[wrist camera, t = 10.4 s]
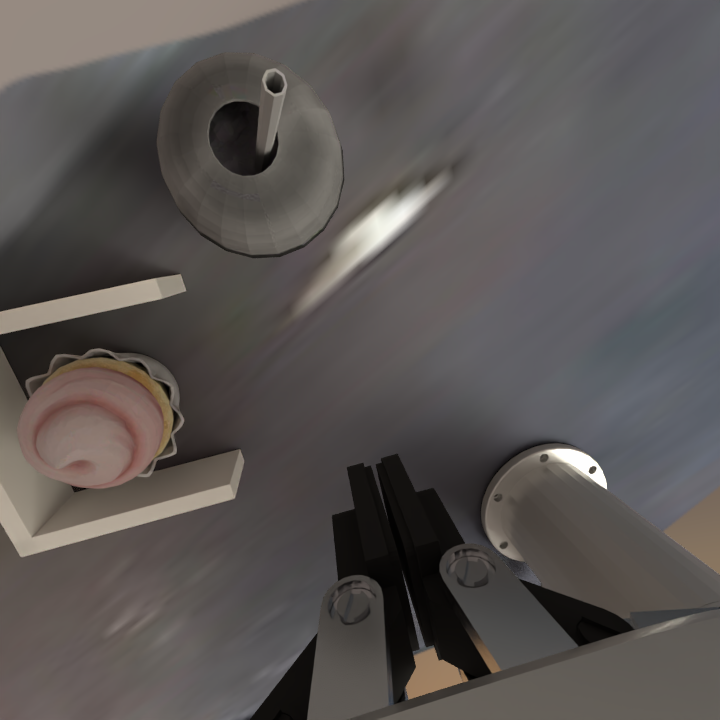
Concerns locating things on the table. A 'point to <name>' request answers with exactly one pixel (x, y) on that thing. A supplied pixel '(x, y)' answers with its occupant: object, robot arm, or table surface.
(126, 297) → the box
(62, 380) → the cupcake
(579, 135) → the table surface
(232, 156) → the beverage cup
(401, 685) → the robot arm
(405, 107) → the table surface
